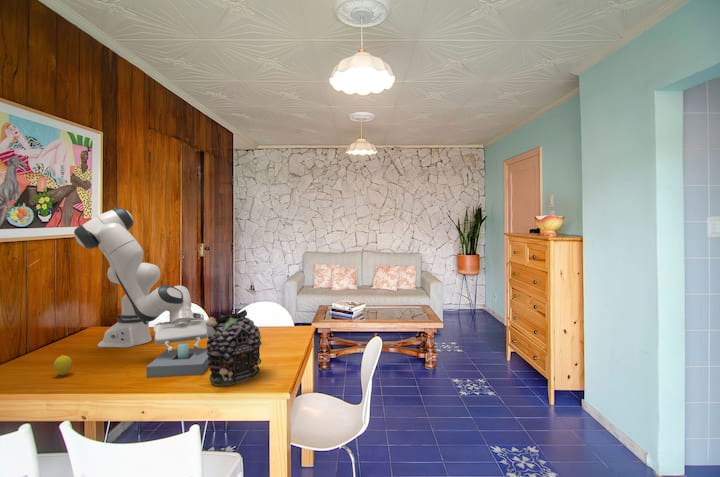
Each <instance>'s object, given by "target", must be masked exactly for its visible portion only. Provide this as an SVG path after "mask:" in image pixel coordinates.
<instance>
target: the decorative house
mask: <svg viewBox="0 0 720 477" xmlns="http://www.w3.org/2000/svg"><path fill="white" fill-rule="evenodd" d="M246 316H248V312H247V310H246V309H244V310H242V311H240V312H238V313H237V312H234V313H222V314H221V315H220V319H219V321H218V319H216V318H215V317H213V316H212V317H209V318H207V319H206V320H205V321H206V322H205V323H206V325H207V334H208V337H207V339H206V347H205V348H207V355H208V361H207V362H208V365H209V366H208V367H209V371H210V372H211V373H210V375H209V381H210V382H211V384H212V385H215V386H230V385H234V384H238V383H239V384H240V383H241V382H245V381H247V380H250V379H253V378H255V377H258V375H259V374H260V371H261V367H260V366H259V365H261V363H262V359H261V358H260V356H261V355H260V348H261V347H260V346H262V344H263V342H262V341H261V339H262V335H261V331H260V330H259V327H258V326H257V325H256V324H255V322H254V320H252V319H250V318H249V317H246Z"/></svg>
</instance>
